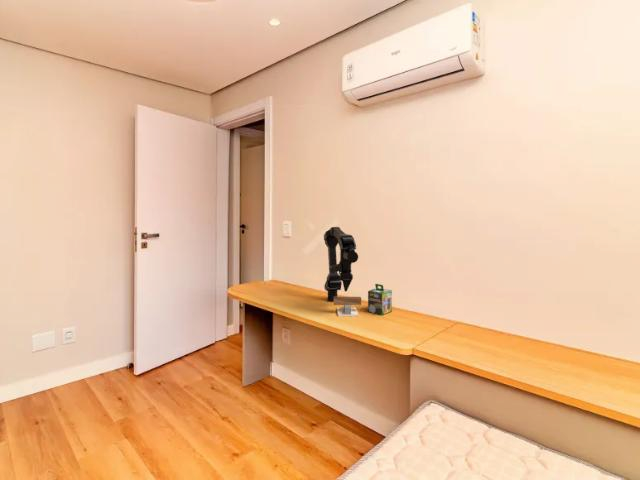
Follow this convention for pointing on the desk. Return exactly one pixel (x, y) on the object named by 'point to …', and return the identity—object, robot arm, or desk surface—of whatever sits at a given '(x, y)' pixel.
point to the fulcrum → (347, 311)
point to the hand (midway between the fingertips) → (345, 289)
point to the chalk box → (380, 300)
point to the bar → (347, 300)
